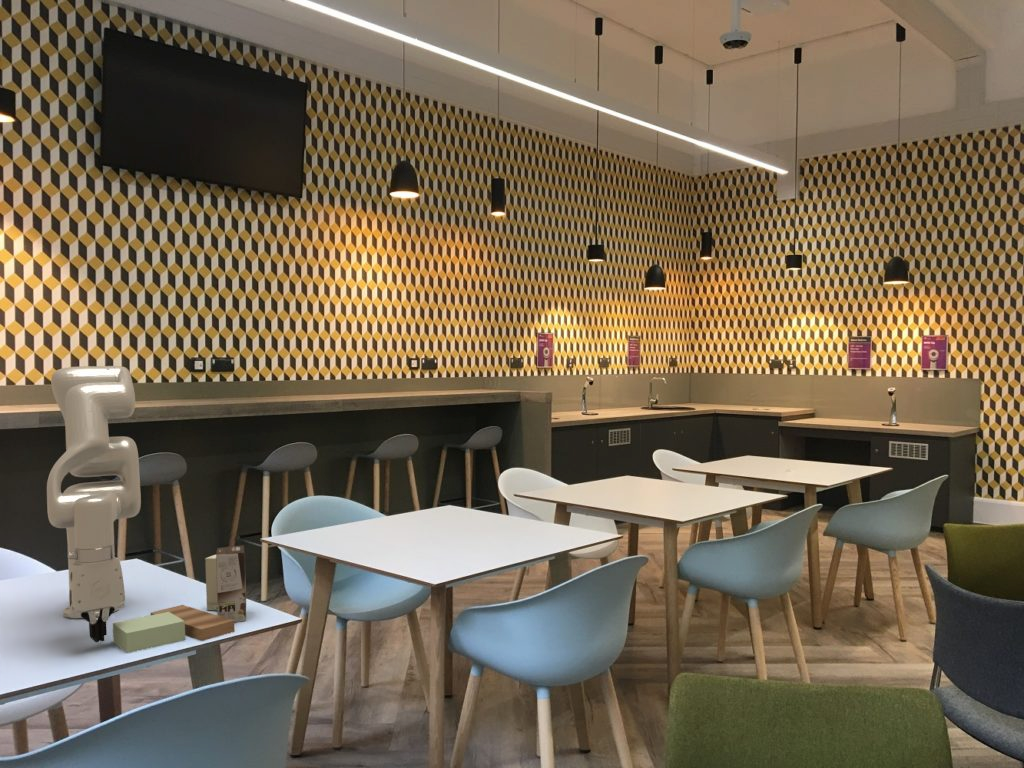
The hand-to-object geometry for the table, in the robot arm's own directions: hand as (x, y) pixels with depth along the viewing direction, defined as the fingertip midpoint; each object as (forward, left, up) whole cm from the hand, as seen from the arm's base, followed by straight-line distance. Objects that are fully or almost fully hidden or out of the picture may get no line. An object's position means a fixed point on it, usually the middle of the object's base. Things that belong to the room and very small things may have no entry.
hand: (98, 640), depth 185 cm
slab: (+3, +10, -2) cm, 10 cm away
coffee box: (-1, +30, -2) cm, 30 cm away
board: (0, +20, -2) cm, 20 cm away
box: (-11, +31, -2) cm, 33 cm away
